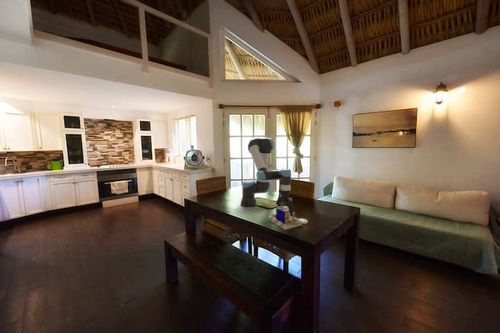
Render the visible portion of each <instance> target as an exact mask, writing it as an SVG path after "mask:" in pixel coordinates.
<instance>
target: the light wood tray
mask: <svg viewBox="0 0 500 333" xmlns="http://www.w3.org/2000/svg"><path fill="white" fill-rule="evenodd" d="M299 219H300V218H296V217H295V216H294V222H292V223H288V224H284V223H282V222H281V221H279V220H277V219H276V213H275V214H270V215H268V220H269V221H270V222H272V223H274V224H275V225H276V226H278V227H280V228H282V229H283V230H289V229H292V228H297V227H300V226H302V225H303V224H302V221H301V220H299Z"/></svg>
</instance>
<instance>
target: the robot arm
mask: <svg viewBox="0 0 500 333" xmlns="http://www.w3.org/2000/svg"><path fill="white" fill-rule="evenodd" d="M274 148H275V142H274V140H273V138H271V137H254V138H251V139H250V140H249V142H248V145H247V150H248V153H249V154H250V155H251V157H252V159H253V163H254V164H255V167H256V170H257V171H256V179H255V180H256V181H255V180H254V179H246V180H244V181H242V185H241V188H242V190H241V191H242V197H241V200H240V206H241V207H245V208H252V207H256V206H257V201H256V197H255V194H265V193H268V192H270V189H271V182H270V181H275V180H276V181H278V180H279V181H280V190H279V192H280V193H278V197H277V199H276V203H275V204H276V206H277V208H279V207H282V204H283V203H285V204H286V206H287V207H288V209H289V221H290V220H292V216H293V212H294V213H295V212H296V209H295V206H294V202H293V197H290V195H291V193H292V192H291V189H292V188H291V187H292V186H291V185H292V183H291V182H292V170H291V168H281V169H277V168H276V169H273V170H270V169H269V163H270V162H269V161H270V160H269V159H270V154H271V153H272V151H274Z"/></svg>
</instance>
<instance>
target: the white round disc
mask: <svg viewBox="0 0 500 333" xmlns="http://www.w3.org/2000/svg"><path fill="white" fill-rule="evenodd" d="M298 219H299V220H301V221H302V225H303V224H304V225H305V224H308V223H309V221H308V220H307V219H306V218H298Z"/></svg>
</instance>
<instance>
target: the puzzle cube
mask: <svg viewBox="0 0 500 333" xmlns="http://www.w3.org/2000/svg"><path fill="white" fill-rule="evenodd" d="M275 214H276V219H277V220H279V221H281V222H282V223H284V224H288V223H292V222H294V217H295V212H293V216H292V220H290V221H289V209H288V206H287V205H285V206H281V207H279V208H278V207H276V208H275Z"/></svg>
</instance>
